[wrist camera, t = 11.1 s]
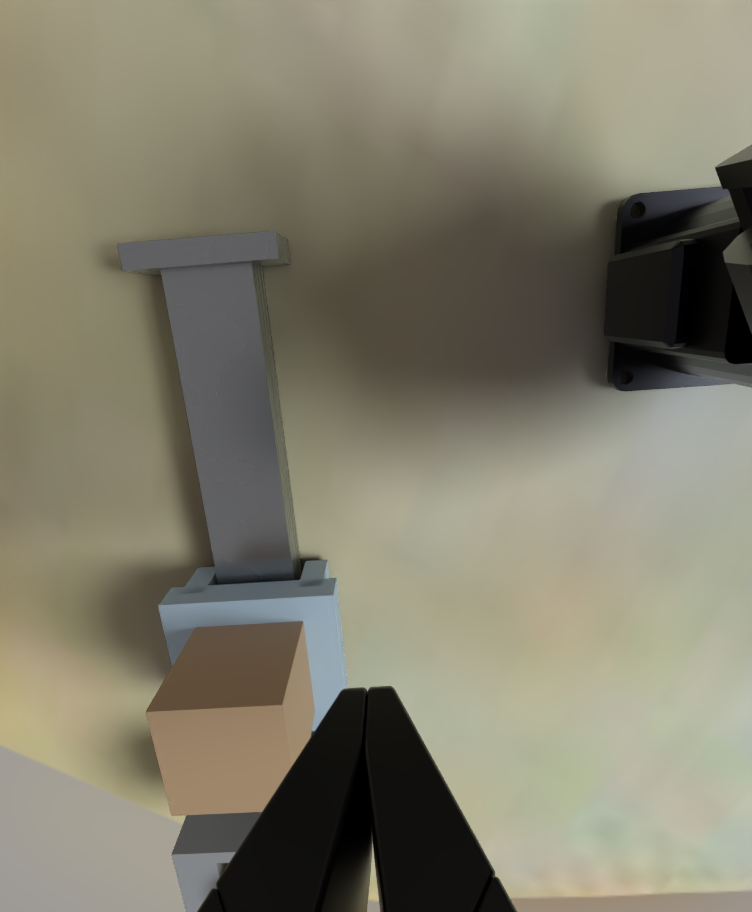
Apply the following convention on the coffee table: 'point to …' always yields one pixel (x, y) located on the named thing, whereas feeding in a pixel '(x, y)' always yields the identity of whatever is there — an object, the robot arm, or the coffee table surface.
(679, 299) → the robot arm
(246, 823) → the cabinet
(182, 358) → the rail
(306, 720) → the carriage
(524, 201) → the coffee table surface
